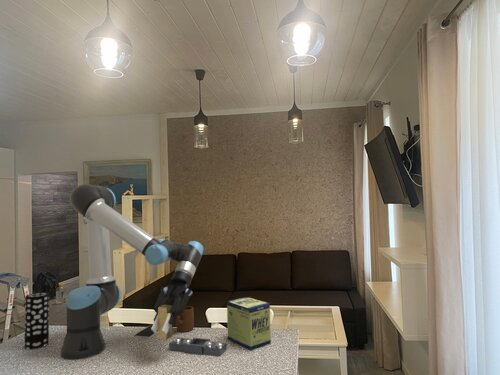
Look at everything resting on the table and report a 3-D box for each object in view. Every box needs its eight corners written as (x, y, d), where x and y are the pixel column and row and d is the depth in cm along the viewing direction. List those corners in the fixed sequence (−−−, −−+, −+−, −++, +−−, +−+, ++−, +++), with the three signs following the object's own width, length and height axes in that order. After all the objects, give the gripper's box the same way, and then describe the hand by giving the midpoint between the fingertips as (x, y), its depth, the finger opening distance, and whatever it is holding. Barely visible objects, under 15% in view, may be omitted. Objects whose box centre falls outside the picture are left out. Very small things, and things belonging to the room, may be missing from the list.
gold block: (157, 338, 124) (158, 307, 125) (163, 335, 127) (163, 304, 128) (166, 339, 123) (166, 307, 123) (171, 336, 126) (172, 305, 127)
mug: (185, 336, 146) (185, 313, 146) (169, 335, 148) (168, 313, 148) (196, 327, 157) (196, 306, 158) (181, 326, 159) (180, 305, 160)
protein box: (251, 351, 129) (250, 308, 130) (226, 339, 141) (226, 300, 142) (271, 343, 136) (270, 303, 137) (246, 333, 148) (246, 296, 149)
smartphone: (132, 335, 147) (151, 323, 162) (132, 338, 147) (151, 326, 162) (149, 336, 145) (167, 324, 160) (149, 339, 145) (167, 327, 159)
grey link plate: (168, 350, 131) (168, 341, 131) (178, 343, 138) (178, 335, 138) (219, 356, 124) (219, 347, 125) (227, 349, 131) (227, 340, 131)
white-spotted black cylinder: (19, 348, 137) (20, 297, 139) (36, 340, 145) (37, 292, 147) (36, 349, 135) (37, 297, 137) (53, 342, 143) (54, 292, 145)
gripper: (205, 282, 138) (183, 339, 121) (168, 279, 143) (143, 334, 127) (199, 271, 133) (175, 329, 116) (161, 268, 139) (134, 323, 122)
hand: (158, 331), depth 122 cm, fingers closed on gold block, 4 cm apart
